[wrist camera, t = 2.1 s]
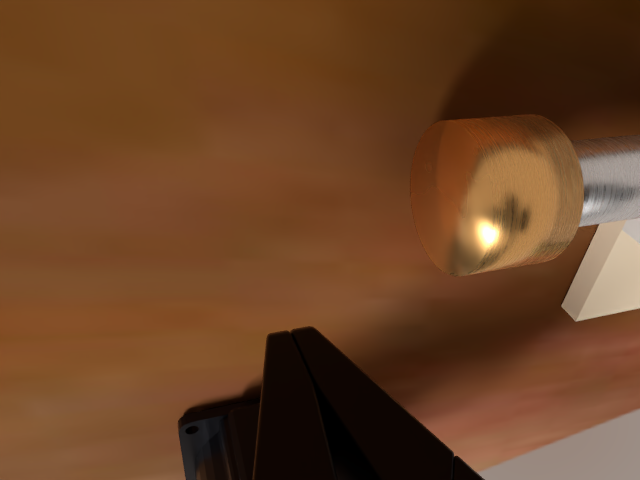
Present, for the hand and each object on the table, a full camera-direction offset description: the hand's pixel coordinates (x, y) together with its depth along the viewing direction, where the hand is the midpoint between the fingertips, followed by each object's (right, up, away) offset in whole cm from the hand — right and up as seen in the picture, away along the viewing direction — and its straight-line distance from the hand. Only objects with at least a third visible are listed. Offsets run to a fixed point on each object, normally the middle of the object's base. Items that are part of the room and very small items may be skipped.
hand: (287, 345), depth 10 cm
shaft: (+10, +5, +8) cm, 13 cm away
